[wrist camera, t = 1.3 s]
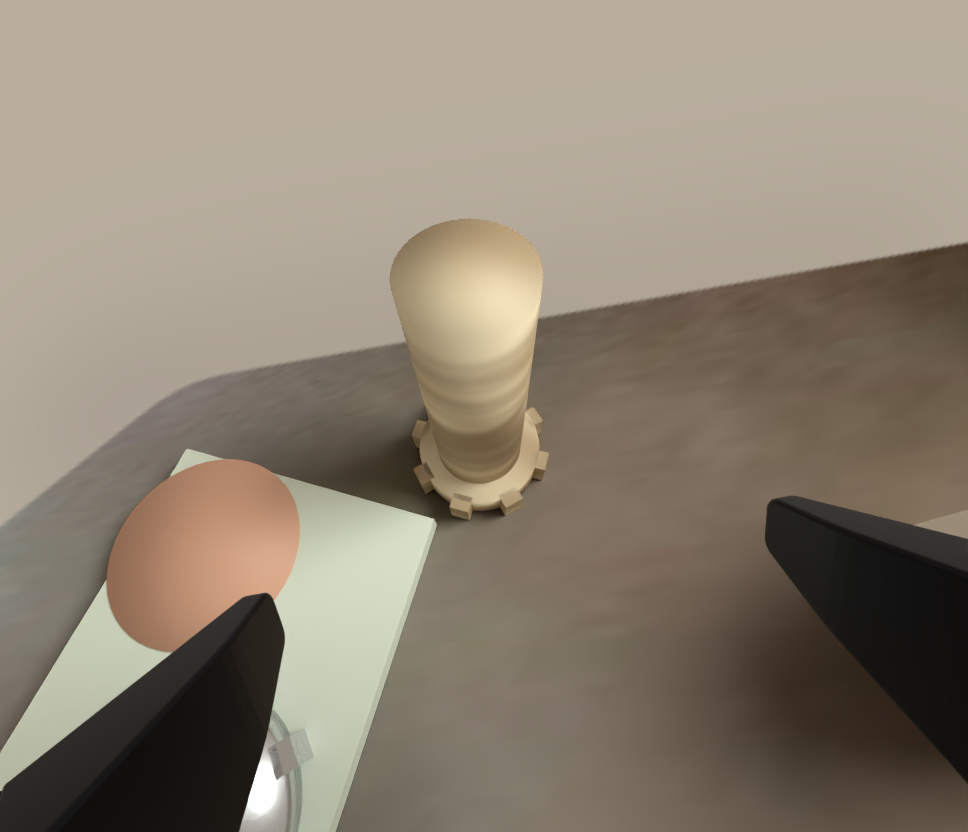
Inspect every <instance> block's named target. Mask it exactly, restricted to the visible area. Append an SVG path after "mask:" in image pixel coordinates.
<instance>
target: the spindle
mask: <svg viewBox="0 0 968 832" xmlns="http://www.w3.org/2000/svg"><path fill="white" fill-rule="evenodd" d="M542 284H543V268H542V264H541V260H540V257H539V255H538V253H537V252H536V250H535V249H534V247H533V246H532V244H530V242H528V241H527V239H526V238H524V237H523V236H522V235H520V234H519V233H518V232H516V231H514V230H513V229H510V228H509V227H507V226H504V225H501V224H499V223H495V222H491V221H487V220H479V219H459V220H452V221H447V222H443V223H440V224H437V225H434V226H431V227H429V228H427V229H425V230H423V231H421V232H420V233H418V234H417V235H415V236H414V237H413V238H411V239H410V240H409V241H408V242H407V243H406V244H405V245H404V246H403V247H402V248H401V250H400V251H399V252H398V254H397V256H396V257H395V259H394V262H393V264H392V268H391V272H390V286H391V291H392V294H393V298H394V301H395V305H396V308H397V311H398V315H399V318H400V321H401V325H402V329H403V332H404V336H405V339H406V342H407V346H408V349H409V353H410V356H411V360H412V363H413V366H414V370H415V373H416V377H417V380H418V384H419V387H420V390H421V394H422V397H423V401H424V404H425V408H426V411H427V414H428V418H429V419H428V421H427V422H425V421H421V420H417V422H416V425H415V427H414V430H413V433H412V435H411V436H412V438H413V441H414V443H415V446H416V447H417V448H420V457H421V461H422V464H421V465H419V466H417V467H415V468H413V470H414V472H415V474H416V476H417V478H418V480H419V482H420V484H421V486H422V488H423V490H424V492H425V494H426V493H428V492H430V491H432V490H434V489H435V491H436V492H437V493H438V494H439V495H440V496H441V497H442V498H443V499H445V500H446V501H448V502H449V503H450V506H449V508H450V511H451V514H452V515H453V516H456V517H460V518H464V519H467V520H470V518H471V514H472V511H488V510H493V509H497V508H501V509H502V511H503V513H504V515H505V516H506V515H508V514H510V513H512V512H513V511H515V510H517V509H519V508H520V507H521V506H522V501H523V498H522V496H521V494H522V493H523V492H524V490H525V489H526V488H527V486H528V485H529V483H530V482H531V480H532V478H535V479H539V480H542V478H543V475H544V471H545V467H546V463H547V459H548V455H549V453H547V452H543V451H539V439H538V434H539V433H540V431H541V427H542V422H543V420H542V419H541V417H540V416H539V415H538V413H537V412H536V410H535V409H534V407H532V408H530V409H528V410H526V403H527V396H528V388H529V381H530V373H531V366H532V359H533V351H534V344H535V336H536V329H537V321H538V314H539V306H540V299H541V291H542Z"/></svg>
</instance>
